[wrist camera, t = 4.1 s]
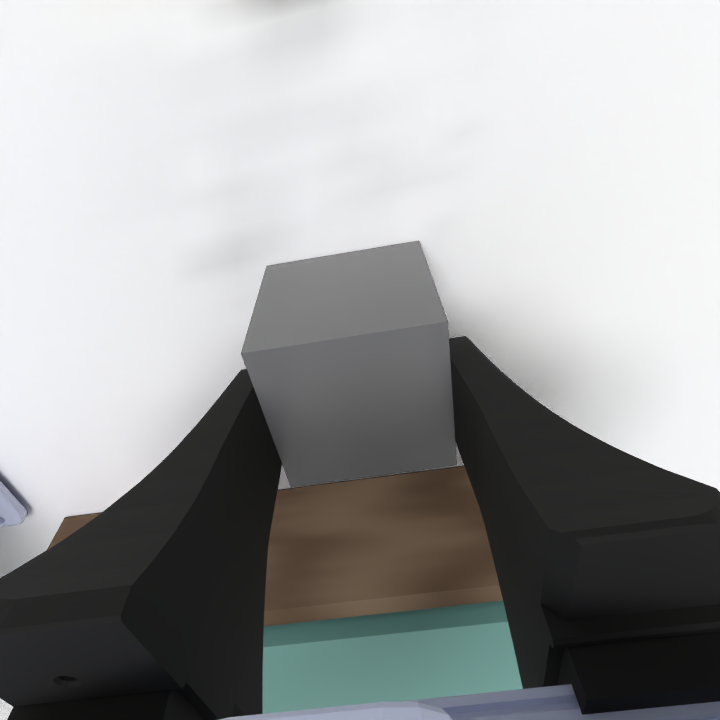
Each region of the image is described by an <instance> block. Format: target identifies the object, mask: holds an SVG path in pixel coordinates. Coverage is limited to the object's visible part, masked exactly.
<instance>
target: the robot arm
mask: <svg viewBox="0 0 720 720" xmlns="http://www.w3.org/2000/svg"><path fill="white" fill-rule="evenodd" d="M449 347H450V363H451V380H452V396H453V412H454V428H455V441H456V444H457V446H458V449H459V452H460V455H461V458H462V461H463V463H464V466H465V469H466V472H467V474H468V477H469V480H470V483H471V486H472V488H473V491H474V494H475V497H476V499H477V502H478V505H479V508H480V511H481V515H482V518H483V521H484V524H485V528H486V532H487V537H488V541H489V545H490V549H491V553H492V557H493V561H494V565H495V569H496V573H497V577H498V582H499V586H500V590H501V594H502V598H503V603H504V607H505V611H506V616H507V620H508V624H509V629H510V633H511V637H512V642H513V646H514V651H515V655H516V660H517V664H518V669H519V674H520V678H521V683H522V687H523V689H518V690H508V691H498V692H489V693H479V694H469V695H459V696H449V697H439V698H430V699H420V700H410V701H400V702H375V703H365V704H355V705H346V706H336V707H326V708H316V709H306V710H297V711H287V712H277V713H267V714H262V711H263V635H264V609H265V587H266V571H267V556H268V545H269V537H270V530H271V524H272V519H273V513H274V507H275V501H276V496H277V490H278V484H279V478H280V472H281V466H282V462H281V459H280V457H279V454H278V451H277V449H276V446H275V443H274V441H273V438H272V435H271V433H270V430H269V427H268V424H267V422H266V419H265V416H264V414H263V411H262V408H261V406H260V403H259V400H258V398H257V395H256V392H255V390H254V387H253V384H252V382H251V379H250V376H249V374H248V371H247V369H244V370H241V371H240V372H239V373H238V375H237V376H236V377H235V378H234V379H233V381H232V382H231V383H230V385H229V386H228V387H227V388H226V390H225V391H224V392H223V393H222V395H221V396H220V397H219V398H218V400H217V401H216V402H215V403H214V405H213V406H212V407H211V408H210V410H209V411H208V412H207V413H206V414H205V416H204V417H203V418H202V419H201V420H200V422H199V423H198V424H197V425H196V426H195V427H194V428H193V429H192V430H191V432H190V433H189V434H188V435H187V436H186V437H185V438H184V439H183V440H182V442H181V443H180V444H179V445H178V446H177V447H176V448H175V449H174V450H173V451H172V452H171V453H170V454H169V455H168V456H167V457H166V458H165V459H164V460H163V461H162V462H161V463H160V464H159V465H158V466H157V467H156V468H155V469H154V470H153V471H152V472H150V473H149V474H148V475H147V476H146V477H145V478H144V479H143V480H142V481H140V482H139V483H138V484H137V485H136V486H135V487H133V488H132V489H131V490H130V491H128V492H127V493H126V494H125V495H123V496H122V497H121V498H120V499H118V500H117V501H116V502H115V503H113V504H112V505H111V506H110V507H109V508H107V509H106V510H105V511H103V512H102V513H101V514H99V515H98V516H97V517H95V518H94V519H92V520H91V521H90V522H88V523H87V524H86V525H84V526H83V527H81V528H80V529H78V530H77V531H75V532H74V533H73V534H71V535H70V536H68V537H67V538H65V539H64V540H62V541H61V542H59V543H58V544H56V545H55V546H53V547H51V548H50V549H48V550H47V551H45V552H43V553H42V554H40V555H38V556H37V557H35V558H33V559H32V560H30V561H29V562H27V563H25V564H24V565H22V566H20V567H19V568H17V569H15V570H14V571H12V572H10V573H9V574H7V575H5V576H3V577H2V578H0V698H1V699H3V700H4V701H6V702H7V703H9V704H10V705H12V706H13V709H12V711H11V713H10V715H9V717H8V720H720V492H719V491H718V490H717V489H716V488H714V487H711V486H708V485H706V484H703V483H700V482H697V481H695V480H692V479H689V478H686V477H684V476H681V475H678V474H675V473H673V472H670V471H667V470H665V469H662V468H660V467H657V466H655V465H652V464H650V463H648V462H646V461H643V460H641V459H639V458H636V457H634V456H632V455H630V454H627V453H625V452H623V451H621V450H619V449H617V448H615V447H613V446H611V445H609V444H607V443H605V442H603V441H601V440H599V439H597V438H595V437H594V436H592V435H590V434H588V433H586V432H584V431H582V430H581V429H579V428H577V427H576V426H574V425H572V424H570V423H569V422H567V421H566V420H564V419H563V418H561V417H559V416H558V415H556V414H555V413H553V412H552V411H550V410H549V409H547V408H546V407H545V406H543V405H542V404H540V403H539V402H538V401H536V400H535V399H534V398H533V397H531V396H530V395H529V394H527V393H526V392H525V391H524V390H522V389H521V388H520V387H519V386H518V385H516V384H515V383H514V382H513V381H512V380H511V379H510V378H508V377H507V376H506V375H505V374H504V373H503V372H502V371H500V370H499V369H498V368H497V367H496V366H495V365H494V364H493V363H492V362H491V361H490V360H489V359H488V358H487V357H486V356H485V355H484V354H483V353H482V352H481V351H480V350H479V349H478V348H477V347H476V346H475V345H474V344H473V343H472V341H471V340H470V339H468V338H467V337H466V336H464V337H457V338H450V339H449ZM26 516H27V511H26V509H25V508H24V507H23V506H22V505H21V503H20V502H19V501H18V500H17V499H16V498H15V497H14V496H13V495H12V493H11V492H10V491H9V490H8V489H7V488H6V487H5V486H4V485H3V484H2V482H1V481H0V527H1V526H9V525H16V524H20V523H22V522H23V521H24V519H25V517H26Z"/></svg>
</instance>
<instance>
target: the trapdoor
mask: <svg viewBox="0 0 720 720" xmlns="http://www.w3.org/2000/svg"><path fill="white" fill-rule="evenodd" d="M518 689H523V687H522V683H521V678H520V674H519V669H518V664H517V660H516V655H515V651H514V646H513V642H512V637H511V633H510V629H509V624H508V620H507V616H506V611H505V607H504V603H503V601H494V602H484V603H475V604H466V605H457V606H448V607H438V608H429V609H420V610H411V611H401V612H392V613H383V614H374V615H365V616H355V617H346V618H337V619H328V620H318V621H309V622H300V623H291V624H281V625H272V626H264V635H263V711H262V714H267V713H277V712H287V711H297V710H306V709H316V708H326V707H336V706H346V705H355V704H365V703H375V702H400V701H410V700H420V699H430V698H439V697H449V696H459V695H469V694H479V693H489V692H498V691H508V690H518Z"/></svg>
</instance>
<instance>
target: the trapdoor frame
mask: <svg viewBox="0 0 720 720" xmlns="http://www.w3.org/2000/svg"><path fill="white" fill-rule="evenodd" d="M99 514H101V513H96V514H89V515H81V516H73V517H65V518H64V520H63V522H62V524H61V526H60V527H59V529H58V531H57V533H56V535H55V536H54V538H53V540H52V542H51V544H50V545H49V547H48V549H50V548H51V547H53V546H55V545H56V544H58V543H59V542H61V541H62V540H64V539H65V538H67V537H68V536H70V535H71V534H73V533H74V532H75V531H77V530H78V529H80V528H81V527H83V526H84V525H86V524H87V523H88V522H90V521H91V520H92V519H94V518H95V517H97V516H98V515H99ZM48 549H47V550H48ZM494 601H503V598H502V594H501V590H500V586H499V582H498V577H497V573H496V569H495V565H494V561H493V557H492V553H491V549H490V545H489V541H488V537H487V532H486V528H485V524H484V521H483V518H482V515H481V511H480V508H479V505H478V502H477V499H476V497H475V494H474V491H473V488H472V486H471V483H470V480H469V477H468V474H467V472H466V469H465V466H463V467H455V468H447V469H439V470H432V471H424V472H416V473H408V474H400V475H393V476H385V477H377V478H369V479H361V480H354V481H346V482H338V483H330V484H322V485H315V486H307V487H299V488H291V489H283V490H277V496H276V501H275V507H274V513H273V519H272V524H271V530H270V537H269V545H268V556H267V571H266V587H265V609H264V626H272V625H281V624H291V623H300V622H309V621H318V620H328V619H337V618H346V617H355V616H365V615H374V614H383V613H392V612H401V611H411V610H420V609H429V608H438V607H448V606H457V605H466V604H475V603H484V602H494Z"/></svg>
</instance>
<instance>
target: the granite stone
mask: <svg viewBox="0 0 720 720" xmlns="http://www.w3.org/2000/svg"><path fill="white" fill-rule="evenodd" d="M241 355H242V357H243V360H244V363H245V366H246V368H247V371H248V374H249V376H250V379H251V382H252V384H253V387H254V390H255V392H256V395H257V398H258V400H259V403H260V406H261V408H262V411H263V414H264V416H265V419H266V422H267V424H268V427H269V430H270V433H271V435H272V438H273V441H274V443H275V446H276V449H277V451H278V454H279V457H280V459H281V462H282V465H283V467H284V470H285V473H286V475H287V478H288V481H289V483H290V486H291V487H298V486H306V485H313V484H320V483H328V482H335V481H343V480H350V479H357V478H365V477H372V476H380V475H387V474H394V473H402V472H409V471H417V470H424V469H431V468H439V467H446V466H454V465H457V461H456V444H455V428H454V412H453V396H452V380H451V363H450V347H449V331H448V320H447V318H446V315H445V312H444V309H443V306H442V304H441V301H440V298H439V295H438V292H437V290H436V287H435V284H434V281H433V278H432V276H431V273H430V270H429V267H428V264H427V262H426V259H425V256H424V253H423V250H422V248H421V245H420V242H419V241H415V242H409V243H403V244H397V245H391V246H385V247H379V248H373V249H367V250H361V251H355V252H349V253H342V254H336V255H330V256H324V257H318V258H312V259H306V260H300V261H294V262H288V263H282V264H276V265H270V266H266V270H265V273H264V276H263V280H262V283H261V287H260V290H259V294H258V297H257V300H256V304H255V307H254V311H253V314H252V317H251V321H250V324H249V328H248V331H247V335H246V338H245V341H244V345H243V348H242V352H241Z"/></svg>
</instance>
